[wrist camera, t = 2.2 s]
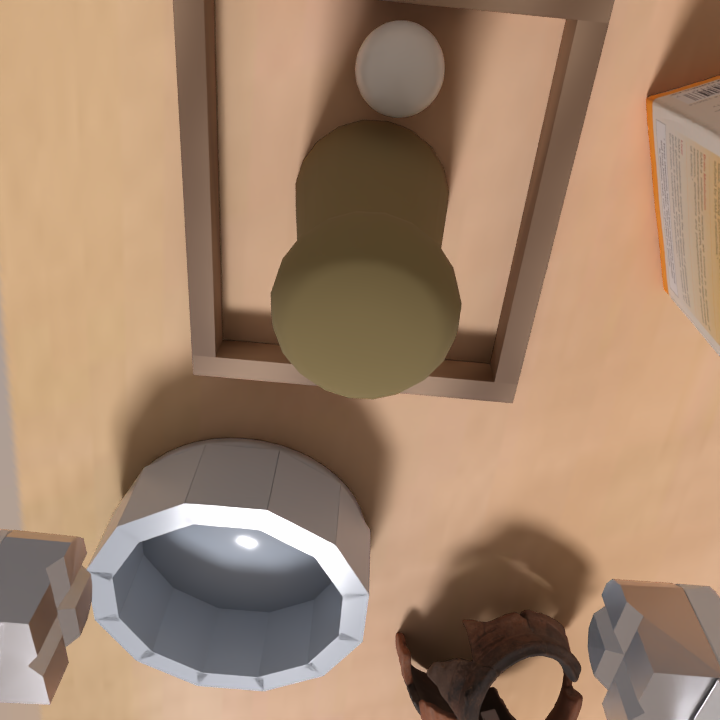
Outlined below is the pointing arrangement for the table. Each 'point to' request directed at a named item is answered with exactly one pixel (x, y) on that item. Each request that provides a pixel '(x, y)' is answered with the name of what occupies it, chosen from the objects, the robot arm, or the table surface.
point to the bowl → (235, 566)
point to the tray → (536, 235)
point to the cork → (368, 264)
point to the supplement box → (689, 198)
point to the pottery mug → (491, 669)
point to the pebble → (399, 69)
